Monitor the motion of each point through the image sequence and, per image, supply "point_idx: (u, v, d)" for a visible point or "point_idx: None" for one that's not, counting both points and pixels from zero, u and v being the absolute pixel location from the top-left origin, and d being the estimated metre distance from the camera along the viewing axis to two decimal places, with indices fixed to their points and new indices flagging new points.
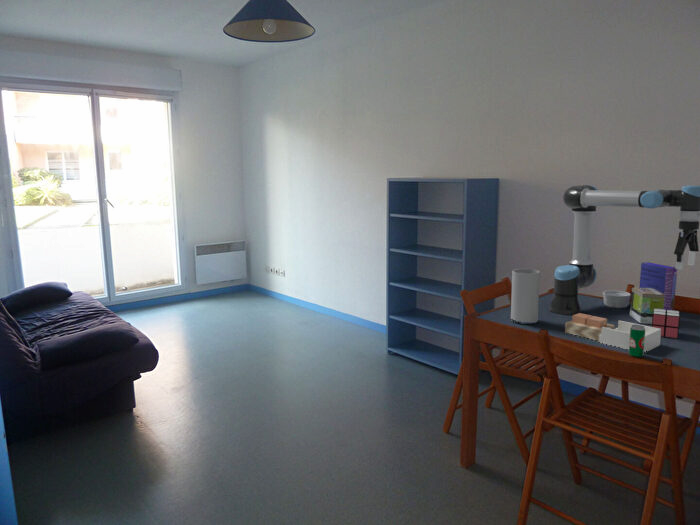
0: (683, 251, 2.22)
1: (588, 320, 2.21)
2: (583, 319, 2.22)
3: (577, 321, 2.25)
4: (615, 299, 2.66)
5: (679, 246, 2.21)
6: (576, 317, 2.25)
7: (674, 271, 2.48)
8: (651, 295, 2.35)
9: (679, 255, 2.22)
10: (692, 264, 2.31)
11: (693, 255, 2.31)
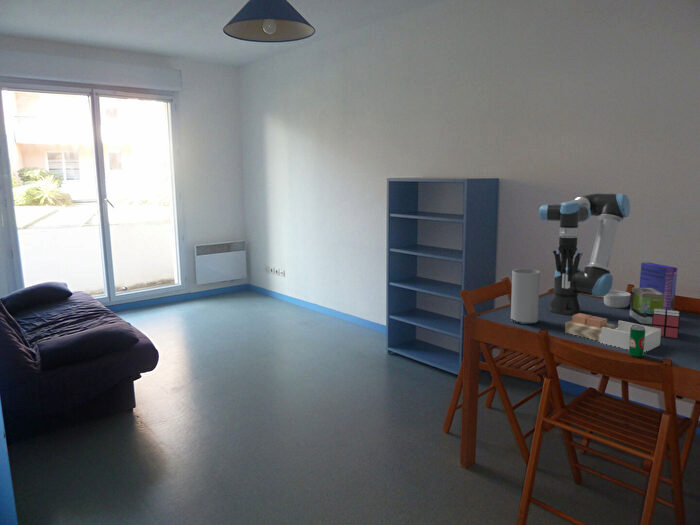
0: (561, 269, 2.30)
1: (588, 320, 2.21)
2: (583, 319, 2.22)
3: (577, 321, 2.25)
4: (615, 299, 2.66)
5: None
6: (576, 317, 2.25)
7: (674, 271, 2.48)
8: (651, 295, 2.35)
9: None
10: None
11: None
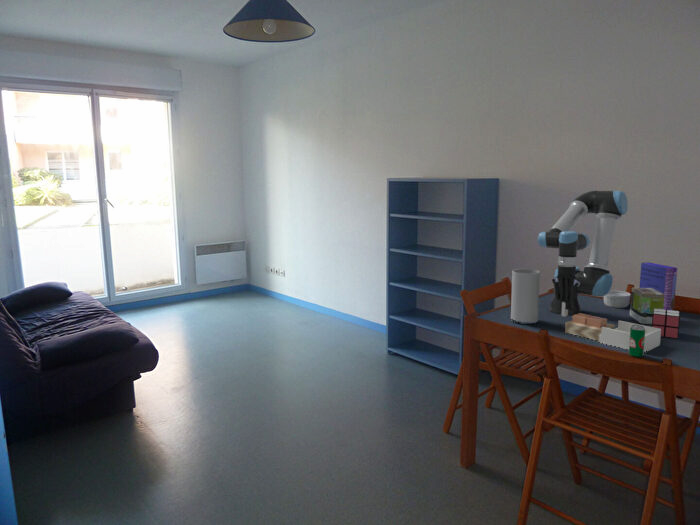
0: (561, 297, 2.31)
1: (588, 320, 2.21)
2: (583, 319, 2.22)
3: (577, 321, 2.25)
4: (615, 299, 2.66)
5: None
6: (576, 317, 2.25)
7: (674, 271, 2.48)
8: (651, 295, 2.35)
9: None
10: None
11: None
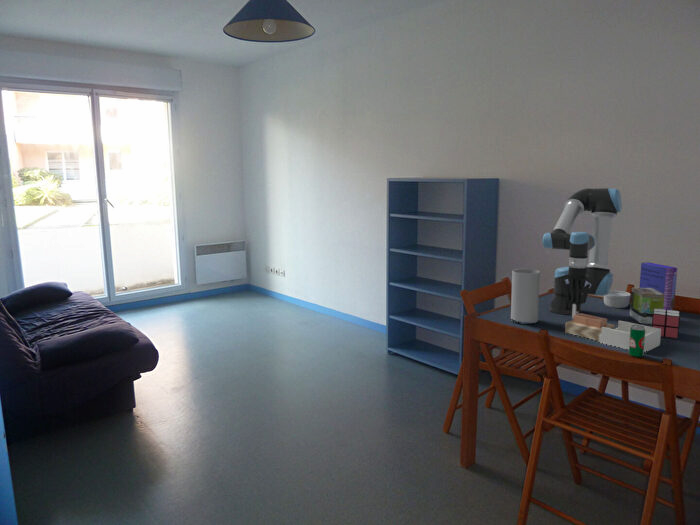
0: (572, 299, 2.27)
1: (588, 320, 2.21)
2: (584, 319, 2.22)
3: (577, 322, 2.25)
4: (615, 299, 2.66)
5: None
6: (577, 317, 2.25)
7: (674, 271, 2.48)
8: (651, 295, 2.35)
9: None
10: None
11: None
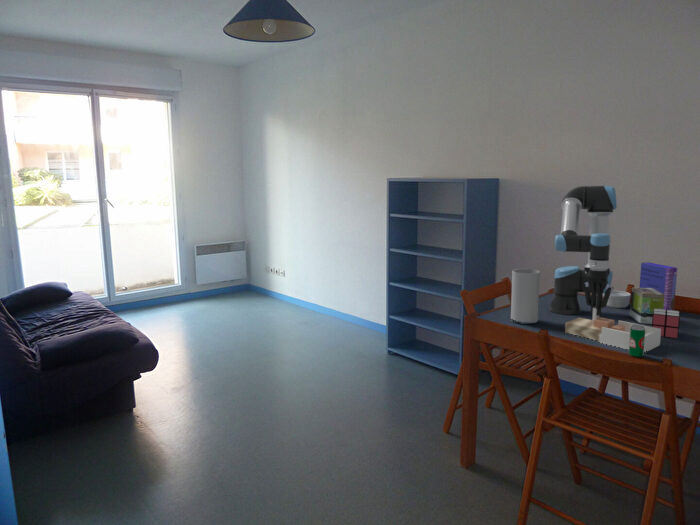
0: (592, 303, 2.20)
1: None
2: (605, 324, 2.15)
3: (598, 326, 2.17)
4: (615, 299, 2.66)
5: None
6: (598, 322, 2.17)
7: (674, 271, 2.48)
8: (651, 295, 2.35)
9: None
10: None
11: None
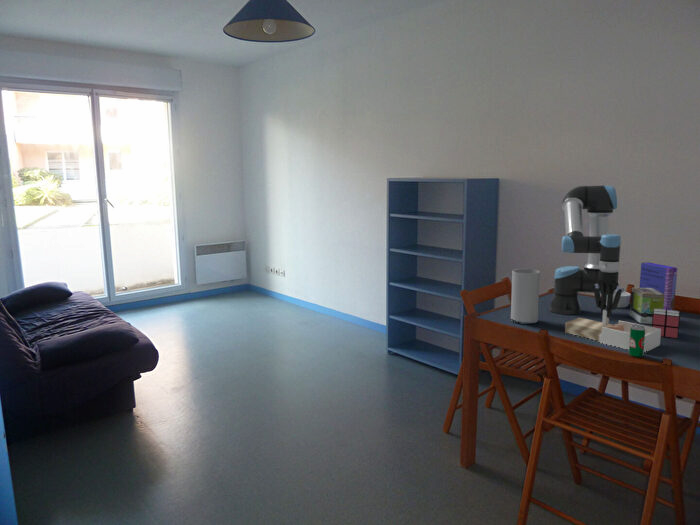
0: (602, 305, 2.17)
1: None
2: None
3: None
4: None
5: None
6: None
7: (674, 271, 2.48)
8: (651, 295, 2.35)
9: None
10: None
11: None
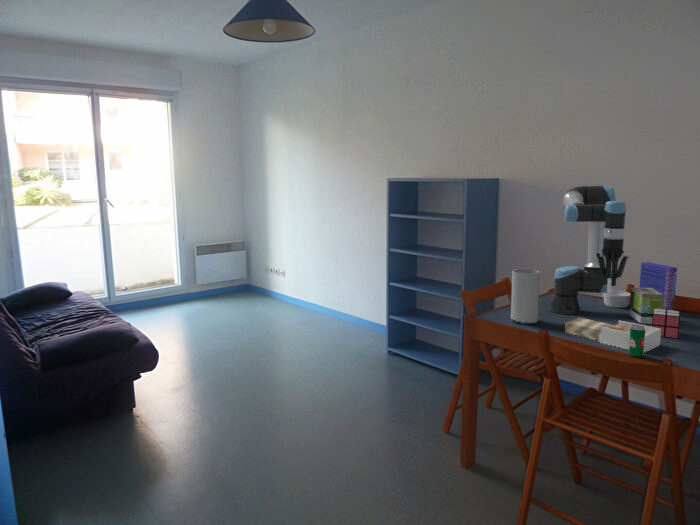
0: (606, 273, 2.14)
1: None
2: None
3: None
4: (615, 299, 2.66)
5: None
6: None
7: (674, 271, 2.48)
8: (651, 295, 2.35)
9: None
10: None
11: None
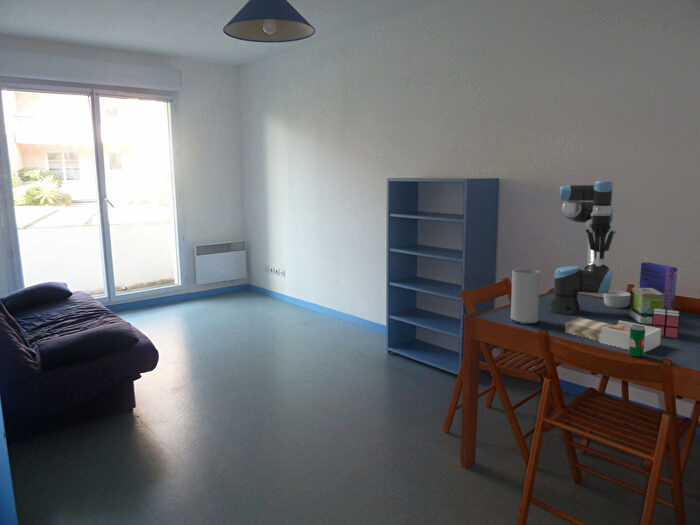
0: (595, 247, 2.33)
1: None
2: None
3: None
4: (615, 299, 2.66)
5: None
6: None
7: (674, 271, 2.48)
8: (651, 295, 2.35)
9: None
10: None
11: None
